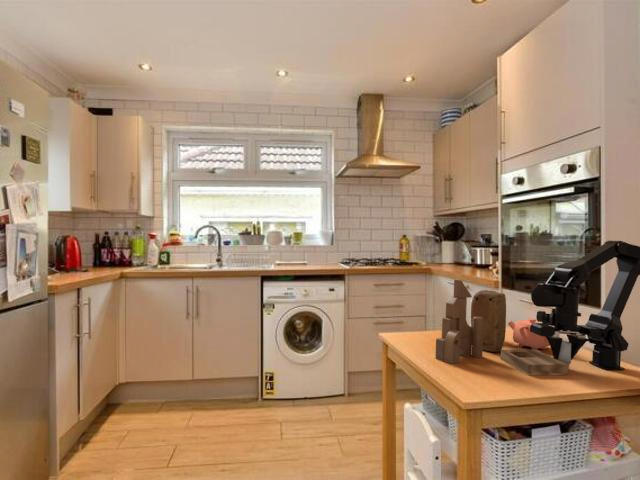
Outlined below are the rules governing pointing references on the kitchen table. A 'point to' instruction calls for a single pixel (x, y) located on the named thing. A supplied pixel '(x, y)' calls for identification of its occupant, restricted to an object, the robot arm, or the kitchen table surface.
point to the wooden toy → (459, 329)
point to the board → (534, 362)
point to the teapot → (527, 335)
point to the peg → (565, 353)
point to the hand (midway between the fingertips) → (562, 359)
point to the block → (490, 318)
